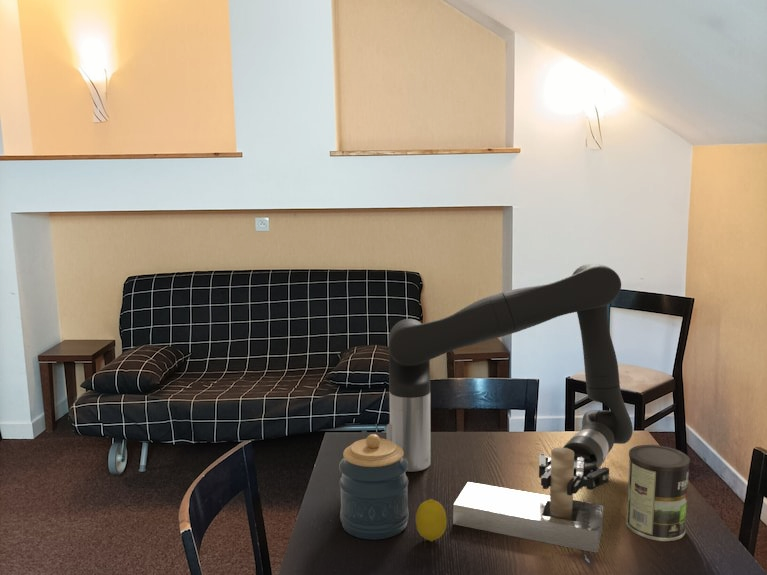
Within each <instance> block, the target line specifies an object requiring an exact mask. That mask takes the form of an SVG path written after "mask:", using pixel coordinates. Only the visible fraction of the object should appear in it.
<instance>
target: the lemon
mask: <svg viewBox="0 0 767 575" xmlns="http://www.w3.org/2000/svg"><path fill="white" fill-rule="evenodd" d="M447 522H448V520H447V512H446V510H445V508H444V506H443V505H442V504H441V503H440V502H439V501H437V500H434V499H433V498H429V499H426V500H424V501H423V502H421V503H420V505H419V506H418V508H417V510H416V514H415V525H416V530H417V532H418V533H419V535H420V536H421V537H422V538H424V539H425V540H428V541H429V542H433V541H435V540H437V539H440V538H441V537H442V536H444V535H443V534H444V533H445V531H446V528H447Z"/></svg>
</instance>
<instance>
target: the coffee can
mask: <svg viewBox="0 0 767 575" xmlns="http://www.w3.org/2000/svg"><path fill="white" fill-rule="evenodd" d="M628 456H629V462H628V463H629V464H628V482H627V483H628V484H627V485H628V487H627V507H626V519H625V521H626V522H625V524H626V526H627V528H628V529H629V530H630V531H631V532H632V533H634V534H636V535H638V536H640V537H642V538H645V539H648V540H653V541H656V542H675V541H679V540H681V539H682V538H684V536H685V535H686V520H687V517H686V516H687V504H688V503H687V502H688V490H689V489H688V487H689V486H688V484H689V471H690V464H691V458H690V457H689V456H688V455H687V454H686V453H684V452H683V451H682V450H678V449H677V448H673V447H669V446H665V445H658V444H642V445H640V444H639V445H635V446H633V447H631V448H630V449H629V451H628Z"/></svg>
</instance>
